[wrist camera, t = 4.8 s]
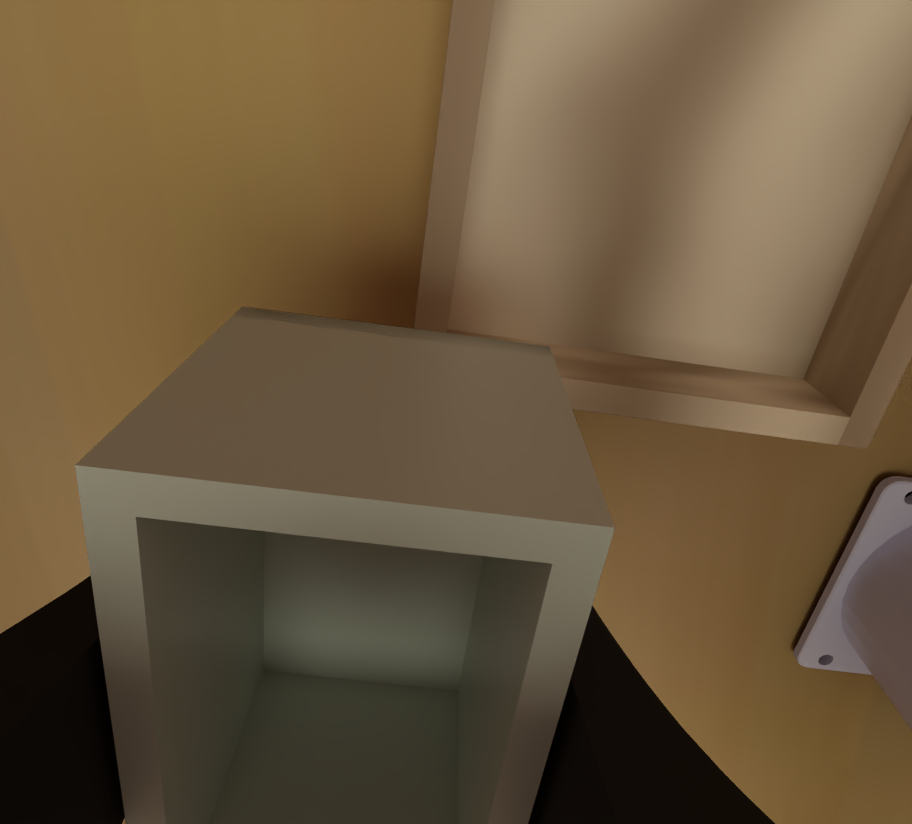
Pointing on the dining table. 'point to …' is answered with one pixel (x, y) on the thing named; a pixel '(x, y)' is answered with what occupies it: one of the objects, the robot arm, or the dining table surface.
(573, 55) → the big crate
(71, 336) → the dining table surface
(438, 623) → the small crate
